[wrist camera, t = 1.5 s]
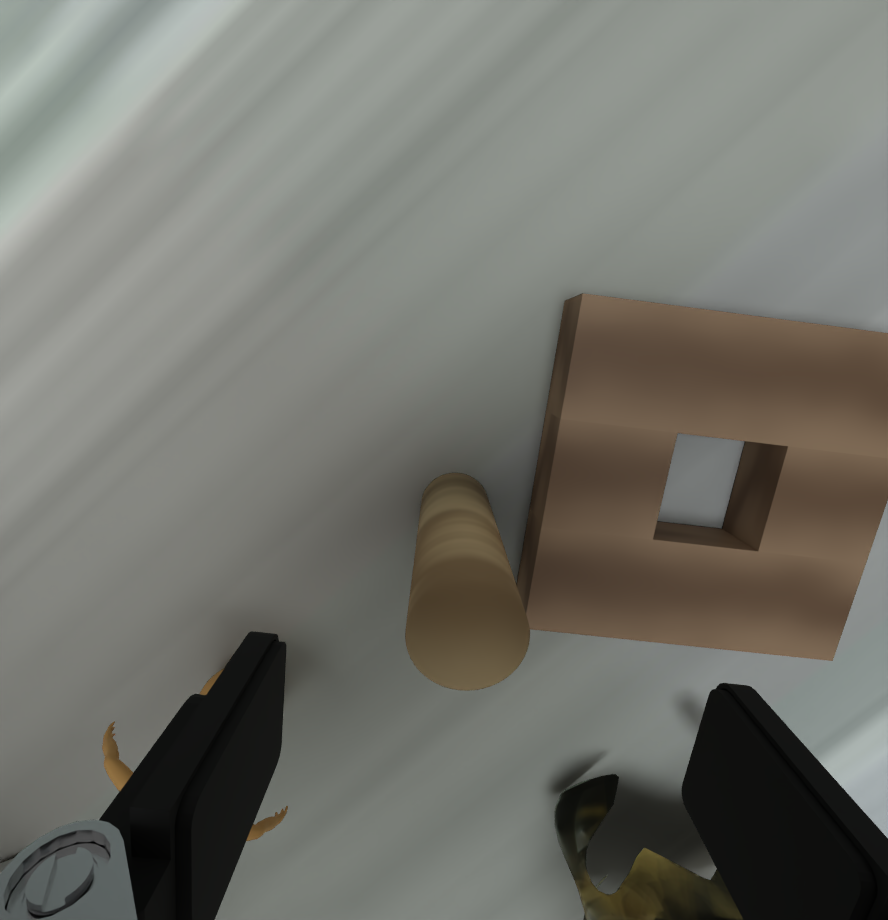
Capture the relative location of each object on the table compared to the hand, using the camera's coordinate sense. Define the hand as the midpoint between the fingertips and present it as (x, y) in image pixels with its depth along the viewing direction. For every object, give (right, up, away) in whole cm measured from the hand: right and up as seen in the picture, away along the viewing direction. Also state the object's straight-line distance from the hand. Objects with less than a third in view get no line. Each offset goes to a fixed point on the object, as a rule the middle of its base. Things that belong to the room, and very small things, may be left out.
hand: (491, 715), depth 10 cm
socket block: (+12, +5, +15) cm, 20 cm away
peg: (0, +3, +15) cm, 15 cm away
